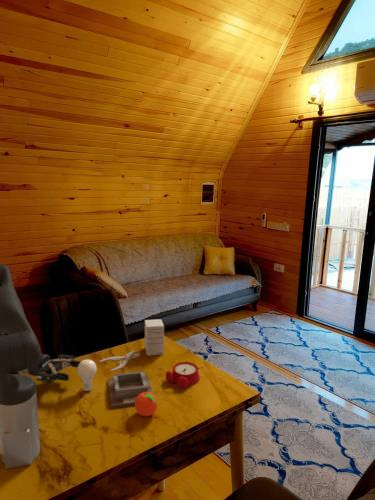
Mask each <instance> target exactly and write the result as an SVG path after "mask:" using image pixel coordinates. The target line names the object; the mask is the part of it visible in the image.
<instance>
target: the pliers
mask: <svg viewBox="0 0 375 500" xmlns="http://www.w3.org/2000/svg"><path fill="white" fill-rule="evenodd" d="M140 357H141V353H140V352H139V353H137V351H136V350H133V351H130V352H128V353H126V354H125V356H123V355H122V356H110V357H107V358H104V359H101V360H99V361H98V363H102V362H106V361H114V362H115V361H117V362H119V365H118V366H116V367H115V368H112V369H111V370H110V372H114V371H117V370H120V369H122V368H123V367H125V366H126V365H127V364H128V362H129V361H130V360H133V359H137V358H140ZM123 359H124V360H123ZM122 360H123V362H122Z"/></svg>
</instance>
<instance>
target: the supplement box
mask: <svg viewBox="0 0 375 500" xmlns="http://www.w3.org/2000/svg"><path fill="white" fill-rule="evenodd" d="M144 348H145V349H144V350H145V353H146V354H145V355H146V356H157V355H158V356H159V355H164V354H165V325H164V323H163V320H162V319H145V320H144Z"/></svg>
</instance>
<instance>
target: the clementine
mask: <svg viewBox="0 0 375 500" xmlns="http://www.w3.org/2000/svg"><path fill="white" fill-rule="evenodd" d="M134 408H135V411H136V413H137V414H139V415H140V416H142V417H150V416H152V415H153V414H154V413H155V412H156V411H157V408H158V399H157V397H156V395H155V394H154V393H153V394H152V393H150V392H143V393H141V394H140V395H138V397H137V398H136V400H135V405H134Z"/></svg>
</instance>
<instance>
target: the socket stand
mask: <svg viewBox="0 0 375 500" xmlns="http://www.w3.org/2000/svg"><path fill="white" fill-rule="evenodd" d="M107 385H108V393H109V403H110V409H116V408H122V407H124V408H125V407H130V406H135V400H136V398H137V397H138V395H140V394H141V393H143V392H150V393H152V394H153V395H154V392H153V389H152V385H151V382H150V378H149V376H148V374H147V373H145V372H144V370H140V371H134V372H133V371H131V372H130V371H129V372H124V373H115V374H113V377H111V378H108V379H107Z"/></svg>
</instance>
